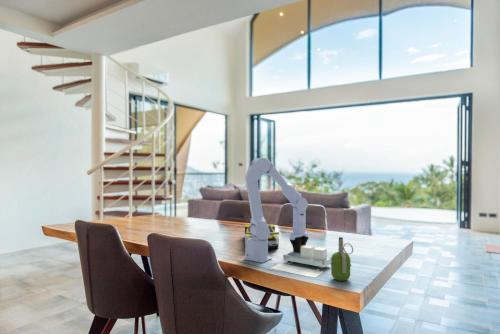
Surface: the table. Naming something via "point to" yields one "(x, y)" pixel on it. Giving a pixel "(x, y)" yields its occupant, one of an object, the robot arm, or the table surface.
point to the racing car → (272, 239)
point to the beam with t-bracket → (305, 260)
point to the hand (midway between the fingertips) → (299, 253)
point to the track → (297, 270)
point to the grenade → (341, 263)
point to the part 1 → (307, 252)
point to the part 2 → (319, 254)
